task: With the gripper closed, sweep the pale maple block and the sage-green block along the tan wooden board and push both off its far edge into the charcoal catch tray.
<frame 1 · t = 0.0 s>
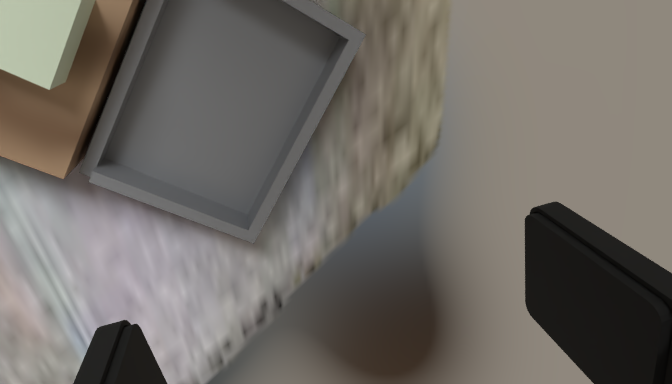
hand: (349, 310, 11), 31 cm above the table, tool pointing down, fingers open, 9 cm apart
catch tray: (222, 95, 38), on the table
sage block: (31, 18, 29), point 5 cm above the table, touching tan wooden board
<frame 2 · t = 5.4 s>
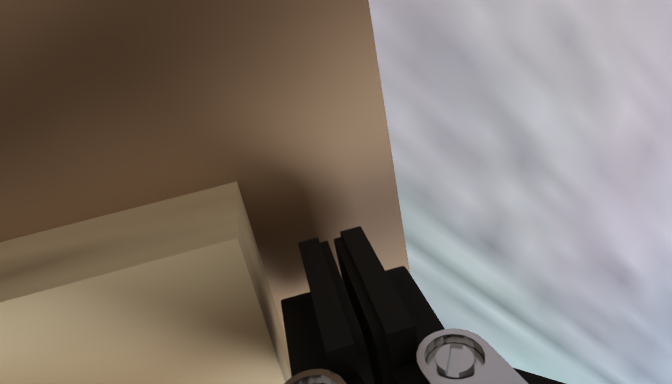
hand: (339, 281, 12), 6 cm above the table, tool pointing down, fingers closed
maple block: (159, 307, 12), point 5 cm above the table
tan wooden board: (128, 240, 17), on the table
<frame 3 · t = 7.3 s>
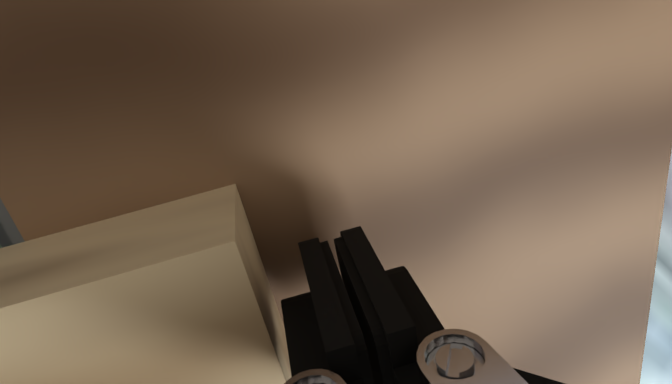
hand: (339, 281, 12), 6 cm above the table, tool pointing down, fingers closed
maple block: (161, 310, 12), point 5 cm above the table, touching tan wooden board
tan wooden board: (353, 181, 18), on the table
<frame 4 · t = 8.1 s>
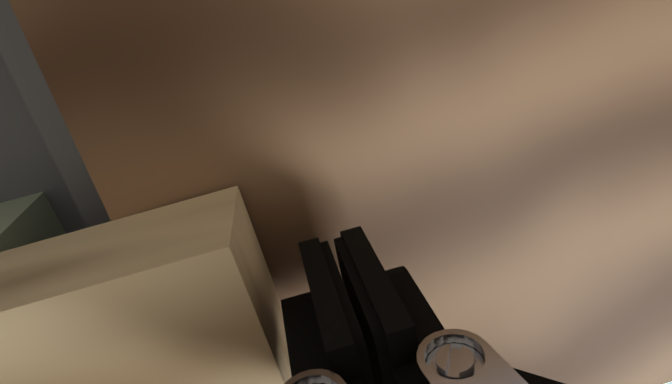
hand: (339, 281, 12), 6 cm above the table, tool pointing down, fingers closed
maple block: (167, 311, 12), point 5 cm above the table, touching gripper
tan wooden board: (403, 167, 18), on the table
sage block: (52, 321, 13), point 4 cm above the table, tilted 90°, touching catch tray
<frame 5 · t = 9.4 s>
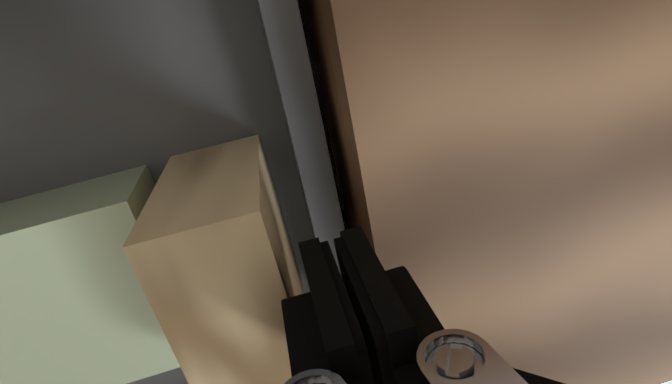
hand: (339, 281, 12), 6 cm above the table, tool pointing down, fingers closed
catch tray: (130, 236, 17), on the table
maple block: (286, 253, 14), point 4 cm above the table, tilted 92°, touching catch tray, gripper
tan wooden board: (550, 128, 18), on the table
sage block: (65, 318, 13), point 4 cm above the table, tilted 180°, touching catch tray
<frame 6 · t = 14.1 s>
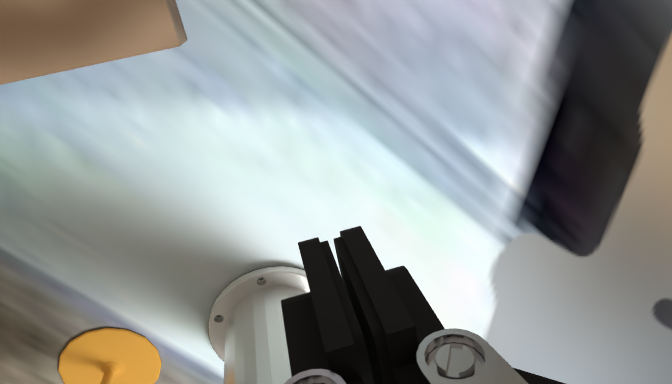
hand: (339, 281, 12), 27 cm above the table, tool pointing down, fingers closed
cup: (112, 363, 43), on the table
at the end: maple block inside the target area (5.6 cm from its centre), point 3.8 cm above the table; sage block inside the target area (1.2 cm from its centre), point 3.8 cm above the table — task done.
